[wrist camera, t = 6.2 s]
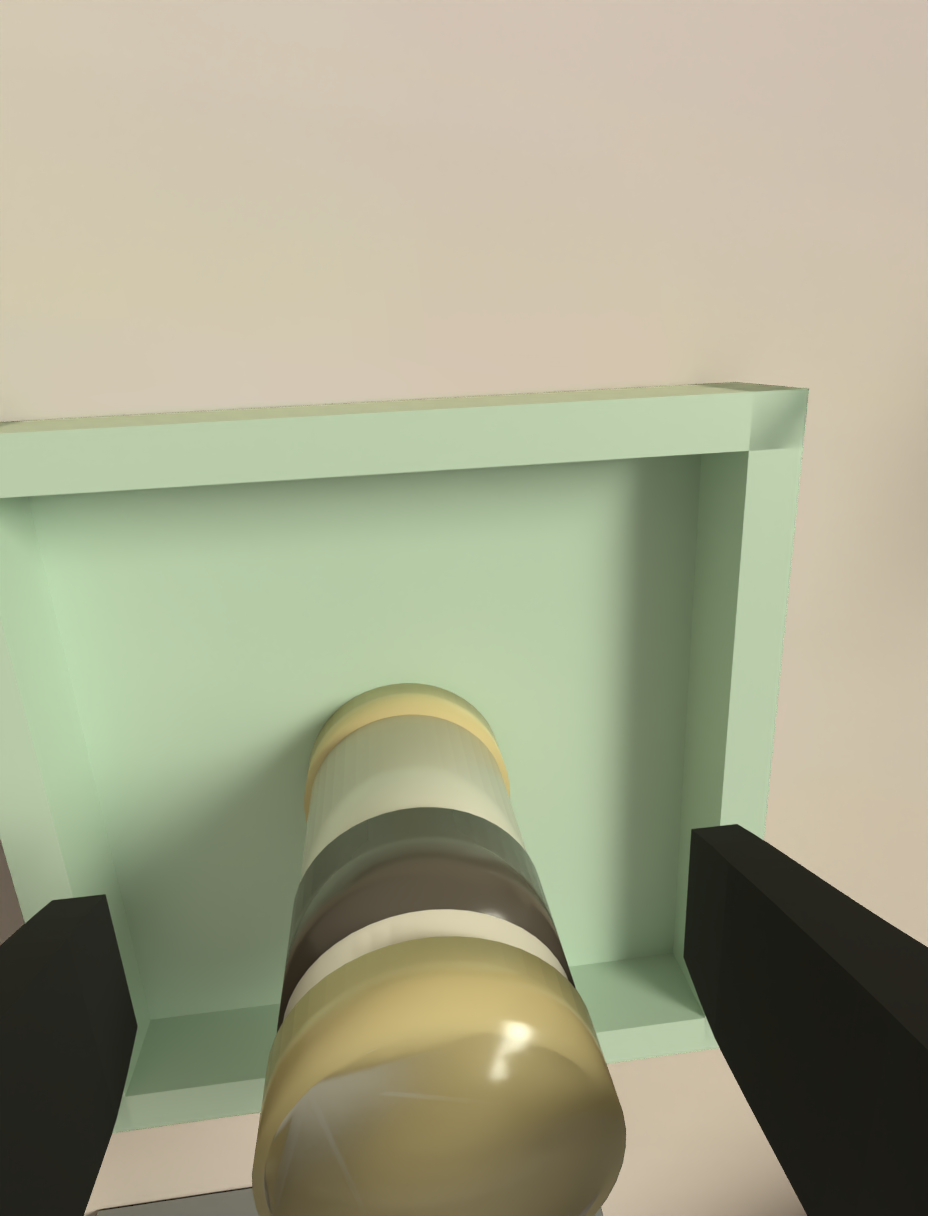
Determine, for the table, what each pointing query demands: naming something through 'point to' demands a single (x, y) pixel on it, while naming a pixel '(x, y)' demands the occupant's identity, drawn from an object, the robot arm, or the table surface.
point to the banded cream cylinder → (427, 991)
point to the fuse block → (201, 1206)
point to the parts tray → (386, 674)
